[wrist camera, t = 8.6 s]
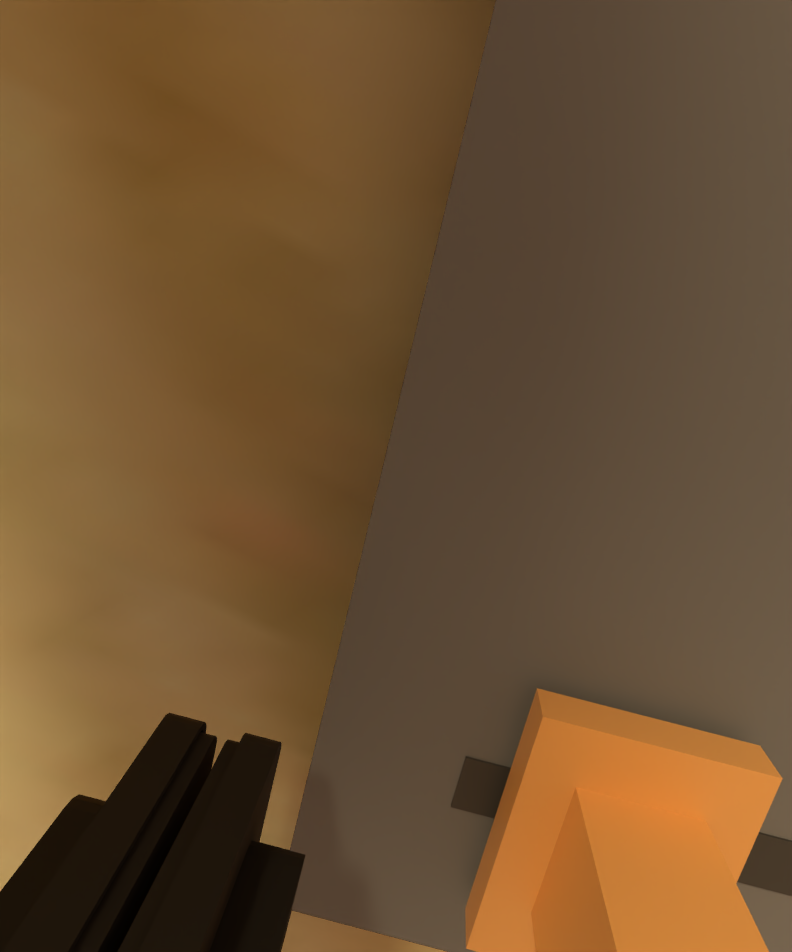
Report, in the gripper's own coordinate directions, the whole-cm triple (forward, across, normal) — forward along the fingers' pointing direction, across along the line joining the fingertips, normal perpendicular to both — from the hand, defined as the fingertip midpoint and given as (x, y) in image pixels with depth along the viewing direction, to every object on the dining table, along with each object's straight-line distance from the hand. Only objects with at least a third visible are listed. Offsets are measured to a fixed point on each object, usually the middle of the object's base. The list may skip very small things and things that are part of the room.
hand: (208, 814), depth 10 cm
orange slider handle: (+2, -6, 0) cm, 6 cm away
